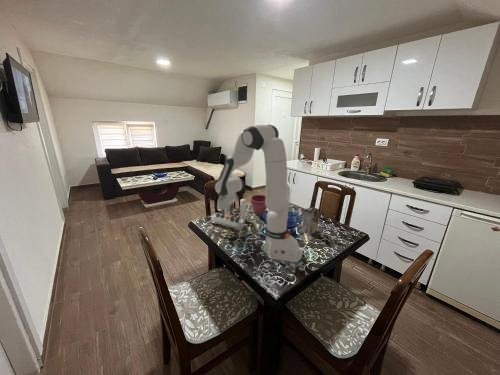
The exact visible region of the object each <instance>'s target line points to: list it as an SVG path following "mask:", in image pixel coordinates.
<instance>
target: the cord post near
mask: <svg viewBox="0 0 500 375" xmlns="http://www.w3.org/2000/svg"><path fill="white" fill-rule="evenodd" d="M239 200H240V202H239V203H240V204H239V205H240V218H241V219H245V220H246V221H247V200H246V199H245V198H241V199H239Z"/></svg>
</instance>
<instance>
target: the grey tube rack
mask: <svg viewBox="0 0 500 375" xmlns="http://www.w3.org/2000/svg"><path fill="white" fill-rule="evenodd" d="M211 221H213V222H216V223H220V224H223V225H226V226H230V227H233V228H235V229H234V230H236V229H239V230H238V231H240V230H241V229H242V228H243V227H244V226H245V225H246V224H245V223H246V221H245V219H241V217H239V216H236V217H235V216H234V215H232V216H231V214H230V215H225V213H220V212H215V213H214V214H213V215H211V216H210V222H211ZM245 227H246V226H245ZM245 227H244V228H245ZM244 228H243V229H244ZM241 231H242V230H241Z"/></svg>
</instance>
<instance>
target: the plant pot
mask: <svg viewBox="0 0 500 375" xmlns="http://www.w3.org/2000/svg"><path fill="white" fill-rule="evenodd" d="M250 204H251V205H252V209H253V210H252V211H253V214H255V215H257V214H259V215H258V216H261V215H260V214H262V213H264V212H265V213H266V209H267V207H266V205H265V194H256V195H252V196H251V197H250ZM265 213H264V214H265ZM262 215H263V214H262Z"/></svg>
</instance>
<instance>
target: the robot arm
mask: <svg viewBox="0 0 500 375" xmlns="http://www.w3.org/2000/svg"><path fill="white" fill-rule="evenodd" d="M279 135H280V134H279V129H278V128H277V127H276V126H274V125H272V124H257V125H253V126H252V125H250V126H248V127H246V128H244V129H243V130H241V132H240V133H239V134H238V137H237V140H236V142H235V145H234V148H233V151H232V153H231V154H230V155H229V157H228V158H227V159H226V160H225V162H224V163H223V164H224V165H223V167H222V170H221V171H220V173H219V177H218V179H217V180H216V182H215V184H214V190H215V193H216V194H217V195H219V197H218V199H217V204H216V209H217V210H218V211H224V213H225V212H228V211H229V210H231V205H233V204H234V203H235V202H237V193H238V192H240V191H242V190H243V188H244V183H243V182H244V181H243V180H242V178H240V177H239V176H237V175H235V174H234V171H235V170H238V168H241V167H243V166H244V165H247V164H248V163H249V162H251V159H252V157H253V155H254V152H255V150H256V151H259V150H262V152H263V156H264V157H263V158H264V166H265V167H264V168H265V190H264V191H265V192H264V193H265V194H264V195H265V205H266V209H267V215H266V228H265V241H264V244H263V248H262V249H263V252H264V253H265V254H266V255H267V257H268V259H270V260H271V259H272V260H277V261H283V262H289V263H290V262H291V263H298V262H299V261H300V260H301V259H302V257H303V252H304V251H303V248H302V247H301V246H300V244H299V241H298V240H297V239H296V238H294V237H293V235H291V229H288V227H287V226H288V215H289V209H290V208H289V207H290V201H291V200H290V199H291V198H290V197H291V188H290V186H289V185H288V166H287V165H288V162H287V153H286V146H285V144H284V141H283V140H282V138H280V137H279ZM224 209H225V210H224Z"/></svg>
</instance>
